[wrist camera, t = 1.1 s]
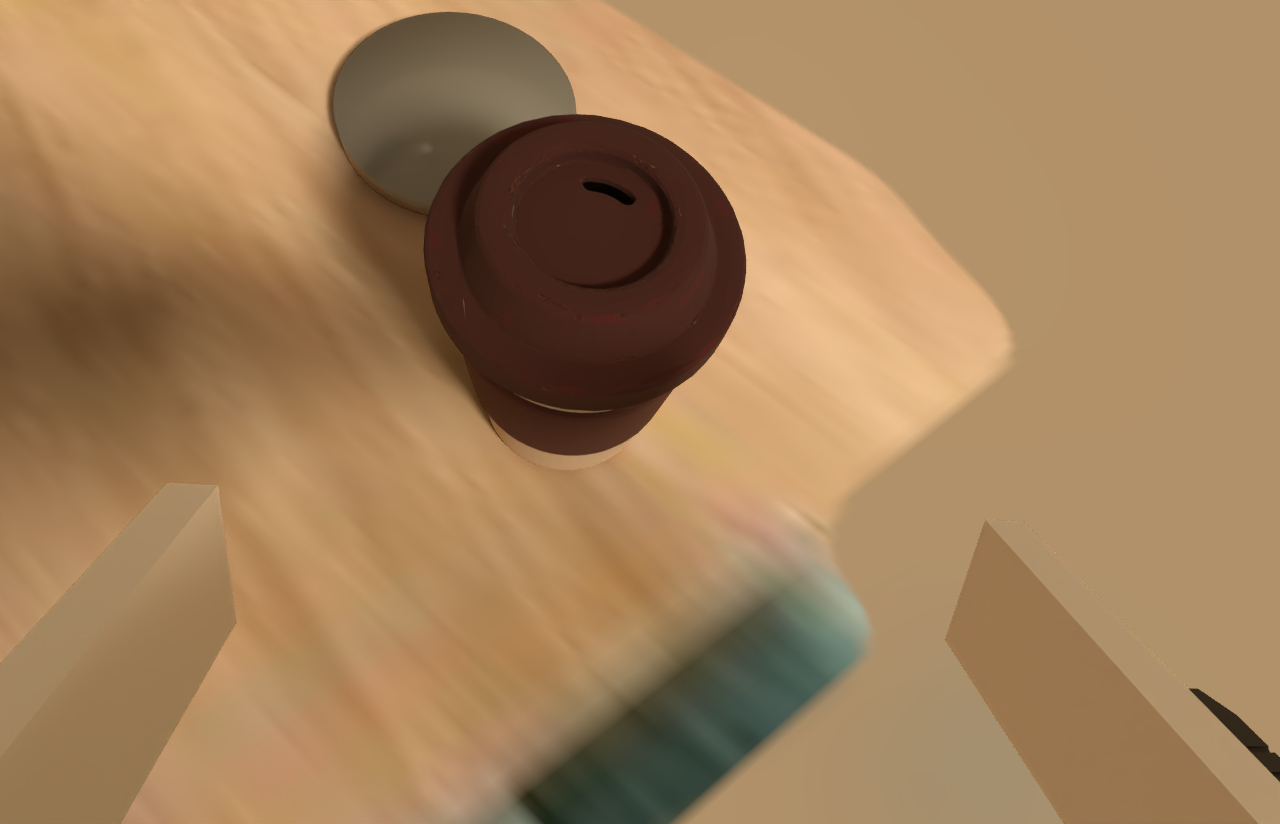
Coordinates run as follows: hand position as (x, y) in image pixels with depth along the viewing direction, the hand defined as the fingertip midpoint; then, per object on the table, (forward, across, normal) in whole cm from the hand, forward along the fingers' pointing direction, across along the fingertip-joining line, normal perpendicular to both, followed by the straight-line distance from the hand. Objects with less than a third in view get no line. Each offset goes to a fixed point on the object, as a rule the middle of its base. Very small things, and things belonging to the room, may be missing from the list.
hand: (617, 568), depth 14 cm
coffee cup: (+22, 0, -7) cm, 23 cm away
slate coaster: (+33, -7, +4) cm, 34 cm away
